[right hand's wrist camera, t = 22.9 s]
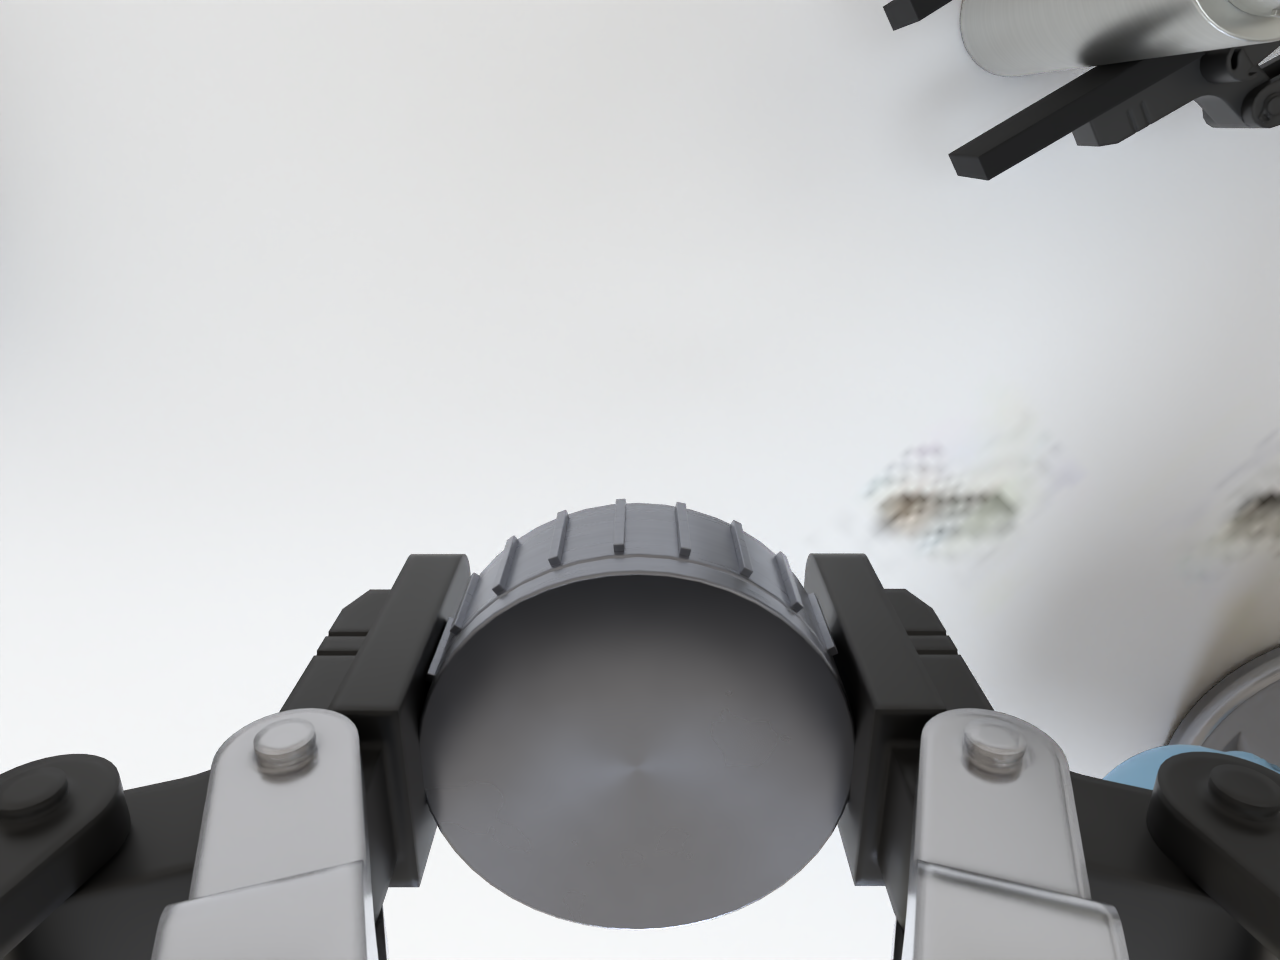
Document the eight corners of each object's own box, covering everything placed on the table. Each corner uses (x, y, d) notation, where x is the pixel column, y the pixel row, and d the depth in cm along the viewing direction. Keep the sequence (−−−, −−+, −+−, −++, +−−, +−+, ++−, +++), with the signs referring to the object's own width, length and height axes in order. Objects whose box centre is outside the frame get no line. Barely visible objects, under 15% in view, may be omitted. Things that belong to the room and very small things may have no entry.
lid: (678, 414, 10) (685, 471, 8) (904, 706, 11) (948, 803, 10) (361, 640, 11) (312, 731, 9) (604, 882, 12) (599, 996, 11)
